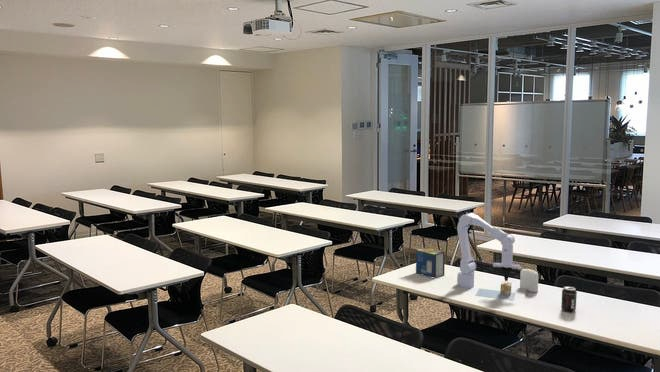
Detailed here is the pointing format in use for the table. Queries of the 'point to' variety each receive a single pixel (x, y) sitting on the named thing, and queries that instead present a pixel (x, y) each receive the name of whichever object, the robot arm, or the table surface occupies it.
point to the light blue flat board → (494, 294)
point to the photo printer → (529, 280)
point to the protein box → (430, 262)
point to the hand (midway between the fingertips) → (506, 280)
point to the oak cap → (505, 288)
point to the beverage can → (569, 299)
